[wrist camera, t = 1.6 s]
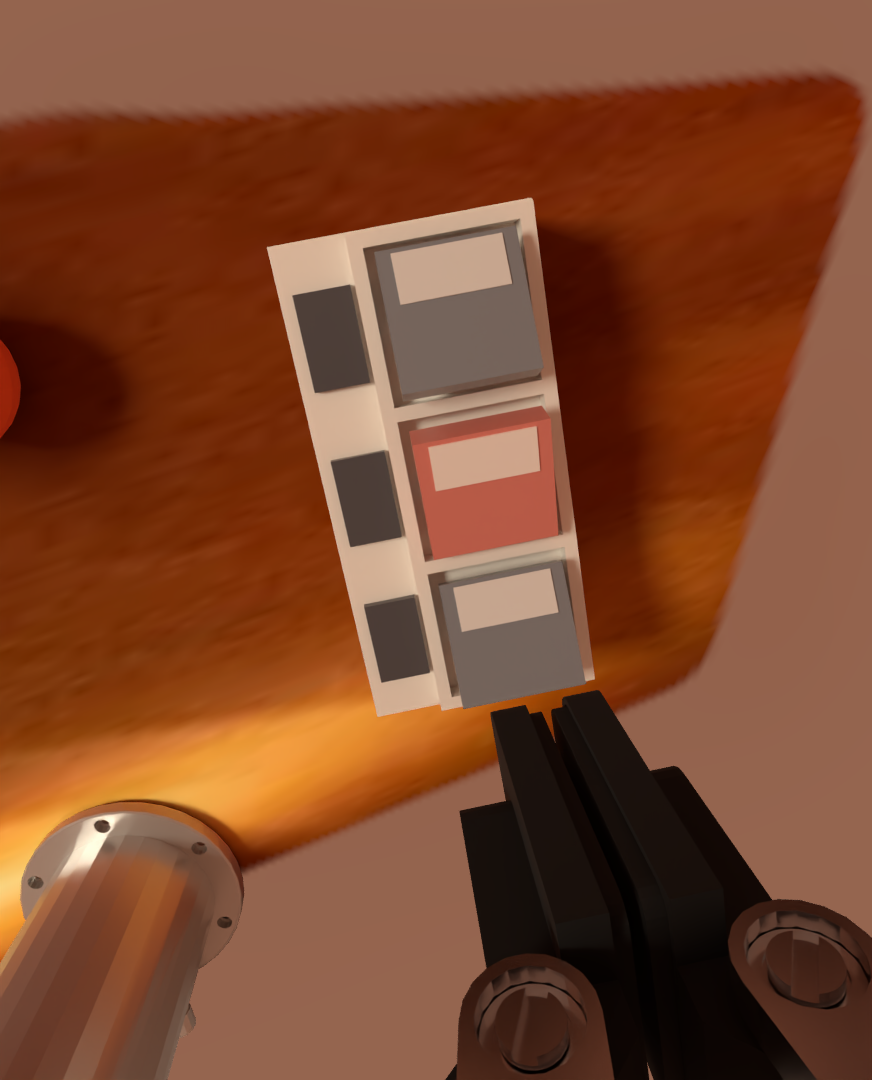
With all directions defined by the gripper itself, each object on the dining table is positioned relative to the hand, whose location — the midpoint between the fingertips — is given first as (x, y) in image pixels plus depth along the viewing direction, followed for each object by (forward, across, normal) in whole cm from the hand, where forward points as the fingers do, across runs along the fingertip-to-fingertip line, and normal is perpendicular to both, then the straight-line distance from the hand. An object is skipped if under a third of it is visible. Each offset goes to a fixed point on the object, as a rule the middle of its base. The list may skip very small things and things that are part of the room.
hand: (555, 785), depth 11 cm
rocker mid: (+20, -2, 0) cm, 20 cm away
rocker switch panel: (+27, 0, 0) cm, 27 cm away
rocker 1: (+20, -2, -7) cm, 21 cm away
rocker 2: (+20, -2, +7) cm, 21 cm away
